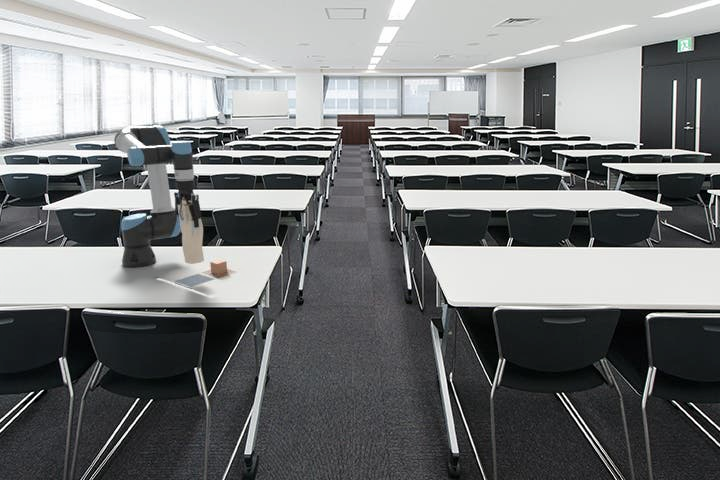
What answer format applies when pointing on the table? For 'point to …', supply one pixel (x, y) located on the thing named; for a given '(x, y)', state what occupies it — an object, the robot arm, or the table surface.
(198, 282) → the slate mat
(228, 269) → the walnut mat
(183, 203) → the water bottle
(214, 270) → the terracotta block
